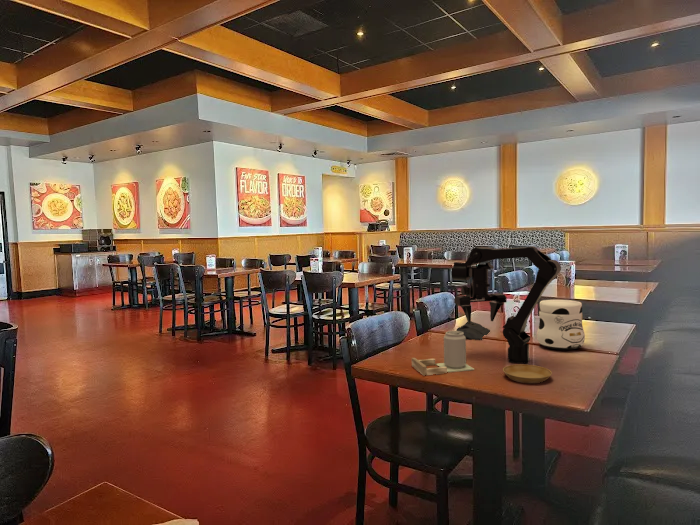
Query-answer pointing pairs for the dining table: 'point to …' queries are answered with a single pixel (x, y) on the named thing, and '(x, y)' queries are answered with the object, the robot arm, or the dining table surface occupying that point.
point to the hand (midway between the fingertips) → (480, 322)
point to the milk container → (560, 324)
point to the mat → (465, 368)
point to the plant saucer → (527, 373)
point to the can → (454, 349)
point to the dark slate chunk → (473, 330)
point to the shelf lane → (422, 367)
